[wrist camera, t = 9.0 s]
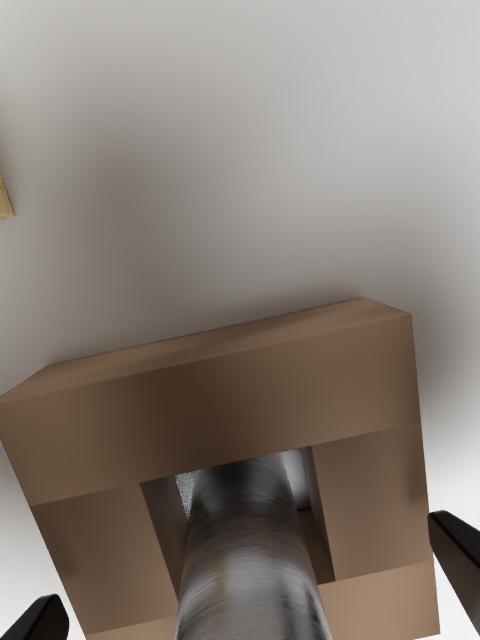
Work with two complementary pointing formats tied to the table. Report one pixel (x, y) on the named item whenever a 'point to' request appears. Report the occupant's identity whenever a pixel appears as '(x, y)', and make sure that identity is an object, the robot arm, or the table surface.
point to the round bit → (247, 559)
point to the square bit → (4, 202)
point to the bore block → (231, 446)
